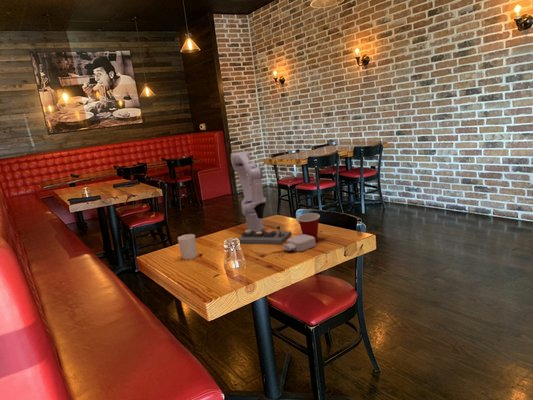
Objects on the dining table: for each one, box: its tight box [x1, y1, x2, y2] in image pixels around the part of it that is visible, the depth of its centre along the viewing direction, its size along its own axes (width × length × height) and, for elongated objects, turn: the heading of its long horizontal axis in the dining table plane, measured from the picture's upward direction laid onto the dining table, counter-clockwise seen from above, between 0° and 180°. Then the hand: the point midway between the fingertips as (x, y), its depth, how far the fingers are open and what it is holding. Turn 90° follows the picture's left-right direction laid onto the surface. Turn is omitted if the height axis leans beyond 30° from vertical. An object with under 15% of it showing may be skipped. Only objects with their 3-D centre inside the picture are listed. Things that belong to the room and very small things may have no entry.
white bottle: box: [281, 233, 317, 253], centre depth 179 cm, size 5×9×15 cm
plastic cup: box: [296, 212, 321, 242], centre depth 188 cm, size 11×11×12 cm
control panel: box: [237, 230, 292, 245], centre depth 199 cm, size 14×24×4 cm, turn 67°
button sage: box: [244, 228, 251, 234], centre depth 202 cm, size 3×3×2 cm
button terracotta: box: [265, 228, 274, 234], centre depth 197 cm, size 3×3×2 cm
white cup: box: [177, 233, 198, 261], centre depth 186 cm, size 8×8×10 cm
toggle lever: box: [276, 225, 283, 234], centre depth 193 cm, size 2×2×5 cm
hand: (260, 218), depth 202 cm, fingers closed
